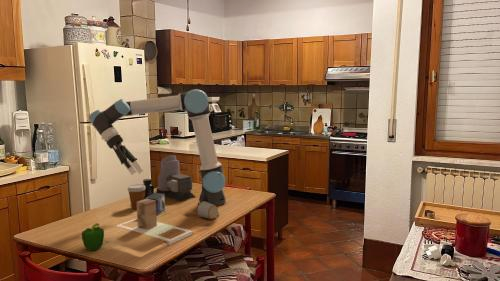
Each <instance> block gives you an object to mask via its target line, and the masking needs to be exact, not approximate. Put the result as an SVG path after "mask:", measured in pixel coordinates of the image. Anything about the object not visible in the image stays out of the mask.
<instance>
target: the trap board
mask: <svg viewBox="0 0 500 281" xmlns="http://www.w3.org/2000/svg"><path fill="white" fill-rule="evenodd" d="M136 220H137V217H136V218H133V219H130V220H127V221H125V222H122V223H119V224H117V225H116V227H119V228H122V229H124V230H125V229H127V230H130V231H132V232H135V233H136V232H137V233H140V234H142V235H147V236H149V237H154V238H156V239H159V240H163V241H164V242H162V243H163V244H166V245H169V246H170V245H172V244H174V243H177V242H178V241H179V242H180V241H182V240H183V239H185V238H187V237H188V238H189V236H192V235H193V230H190V229H187V228H183V227H178V226H175V225H173V224H172V225H171V224H167V223H164V222H161V221H157V226H155V227H153V228H150V229H148V230H146V229H142V228H139V227H138V225H137V226H135V227H130V226H126V225H125V224H128V223H131V222H133V221H136ZM173 229H175V230H179V231H182V232H183V233H181V234H179V235H177V236H174V237H172V238H168V237H164V236H161V234H164V233H166V232H169V231H171V230H173Z"/></svg>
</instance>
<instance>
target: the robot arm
mask: <svg viewBox="0 0 500 281" xmlns="http://www.w3.org/2000/svg"><path fill="white" fill-rule="evenodd" d="M177 110H180V111H183V112H185V111H186V115H187V118H188V119H190V120H191V121H192V122H191V123H192V127H193V132H194V136H195V141H196V145H197V150H198V155H199V159H200V163H201V166H200V167H199V170H200V171H199V172H200V177H201V192H200V195H199V198H198V203H199V205H200V203H202V202H204V201H205V202H208V203H210V204H213V205H215V206H216V207H219V206H222V205H225V204H226V202H227V200H226V195H225V193H224V187H225V186H226V177H225V175H224V169H223V164H222V163H221V162H220V161H218V156H217V152H216V147H215V141H214V137H213V132H212V129H211V128H212V127H211V124H210V120H209V116H210V115H211V109H210V106H209V97H208V95H207V93H206V92H204V91H203V90H201V89H199V88H196V89H195V88H194V89H191V90H189V91H186V92H180V93H178V94H177V95H171V96H163V97H155V98H145V99H140V100H139V99H137V100H131V101H125V99H123V98H120V99H119V100H117V101H115V102H114V103H112V105H110V106H109V107H107V108H106V109H104V110H103V111H102V110H101V109H97V110H95V111H93V112H91V113H90V114H89V116H88V120H89V122H90V123H91V124H92V127H93V128H94V129H95V130H96V131H97V132H98V134H99V135H100V136H101V140H103V141H104V142H106V145H107V147H109V149H112V150H113V151H114V153H115V154H116V157H117V158H118V160H119V162H120V164H121V165H124V167H126V169H127V171H129V174H131V176H132V175H133V174H135V173H137V174H141V173H143V171H144V169H143V168H142V166H141V165H140V163H139V161H137V160H138V158H137V157H135V156H134V155H133V153H131V151H130V150H129V149H128V147H127V146H126V145H124V144H122V143H123V142H124V139H123V137H122V136H121V134H119V132H118V130H117V129H116V128H115V126H113V124H114V123H116V122H117V121H119V120H120V119H121V118H124V117H129V116H138V115H144V114H154V113H162V112H169V111H177Z"/></svg>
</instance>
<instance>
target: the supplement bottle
mask: <svg viewBox="0 0 500 281" xmlns="http://www.w3.org/2000/svg"><path fill="white" fill-rule="evenodd" d="M142 181H143V182H142V185H145V187H146V189H145V194H144V199H145V198H146V197H148V196H150V195H152V194H153V193H155V187H154V184H153V181H152V178H144V179H142Z"/></svg>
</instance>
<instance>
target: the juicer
mask: <svg viewBox="0 0 500 281" xmlns="http://www.w3.org/2000/svg"><path fill="white" fill-rule="evenodd" d="M159 170H160V171H159V174H158V176H157V178H158V179H157V180H158V186H157V187H156V191H154V193H161V194H165V197H166V198H167V197H168V198H170V199H172V200H175V201H178V202H183V201H187V200H191V199H195V198H196V195H195V194H193V193H192V190H193V178H192V176H190V175H186V174H183V173H181V172H180V160H178V159H177V156H176V155H175V154H172V155H168V156H166V157H164V158H162V159H161V160H160V169H159Z"/></svg>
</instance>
